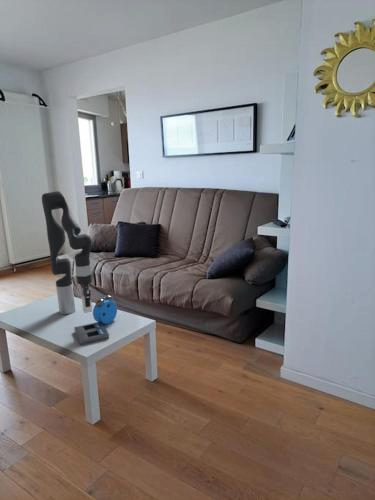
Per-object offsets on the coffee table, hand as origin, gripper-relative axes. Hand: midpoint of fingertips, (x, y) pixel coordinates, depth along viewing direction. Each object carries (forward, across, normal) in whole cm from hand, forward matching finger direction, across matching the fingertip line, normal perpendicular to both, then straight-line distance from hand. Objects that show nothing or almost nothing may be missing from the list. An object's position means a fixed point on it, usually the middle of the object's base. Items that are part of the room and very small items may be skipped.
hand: (87, 305), depth 179 cm
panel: (+15, +5, 0) cm, 16 cm away
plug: (+3, 0, 0) cm, 3 cm away
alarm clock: (+16, -7, +11) cm, 20 cm away
